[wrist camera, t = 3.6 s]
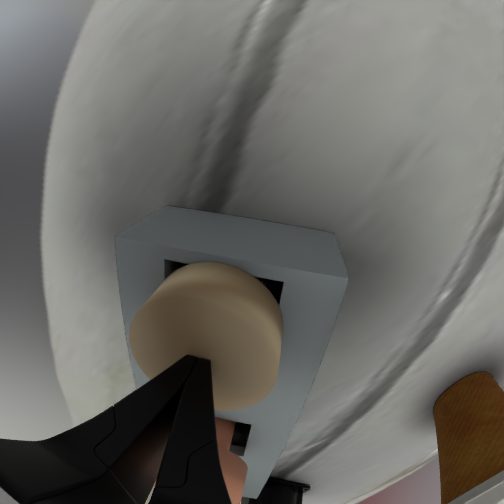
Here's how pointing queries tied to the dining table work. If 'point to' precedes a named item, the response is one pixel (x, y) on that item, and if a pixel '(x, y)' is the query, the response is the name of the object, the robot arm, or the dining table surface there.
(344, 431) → the dining table surface
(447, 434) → the disposable coffee cup
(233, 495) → the knob middle
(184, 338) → the knob
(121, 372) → the dining table surface
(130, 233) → the grey peg holder block
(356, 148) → the dining table surface
